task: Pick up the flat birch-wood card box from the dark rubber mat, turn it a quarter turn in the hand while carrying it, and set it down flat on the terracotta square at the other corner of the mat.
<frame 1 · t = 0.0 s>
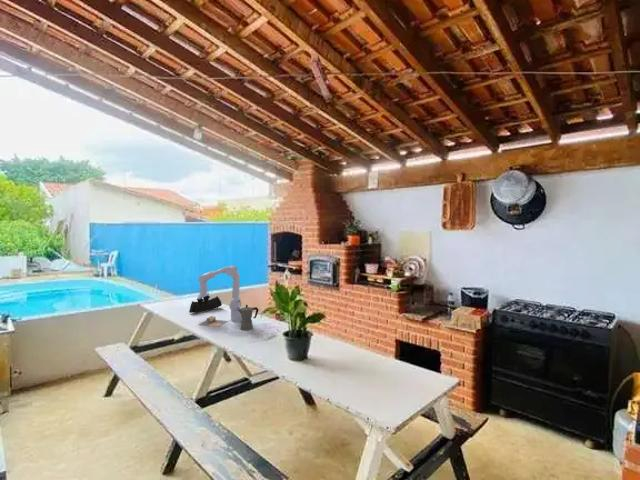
hand: (203, 305, 296), 10 cm above the table, tool pointing down, fingers open, 7 cm apart
card box: (211, 321, 287), resting on mat
coffeepot: (248, 328, 271), on the table
black tray: (206, 311, 320), on the table
mat: (213, 323, 282), on the table
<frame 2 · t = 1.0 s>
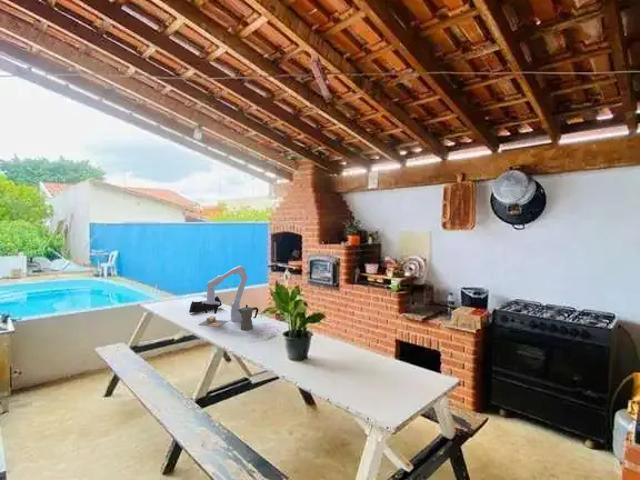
hand: (210, 313, 286), 7 cm above the table, tool pointing down, fingers open, 7 cm apart
nothing on the table moved.
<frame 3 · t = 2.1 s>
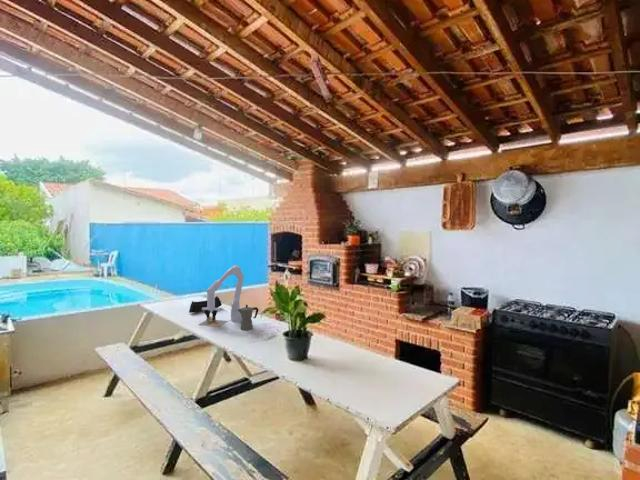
hand: (211, 319, 286), 2 cm above the table, tool pointing down, fingers closed on card box, 4 cm apart
card box: (211, 321, 287), resting on mat, touching gripper
everything else where it was.
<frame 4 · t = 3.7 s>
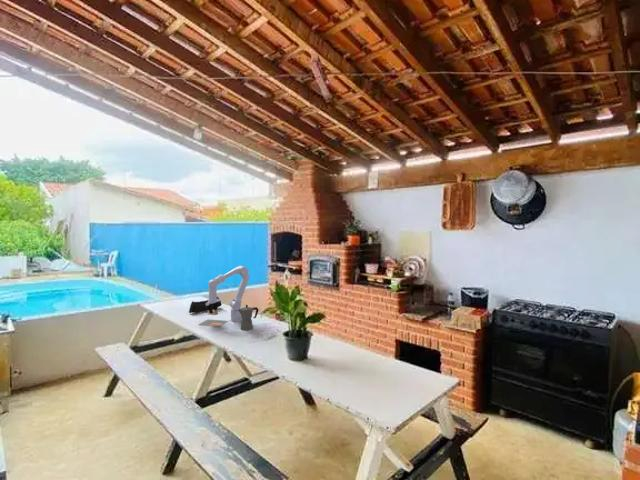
hand: (212, 312, 282), 8 cm above the table, tool pointing down, fingers closed on card box, 4 cm apart
card box: (212, 314, 282), point 7 cm above the table, touching gripper
everything else where it was.
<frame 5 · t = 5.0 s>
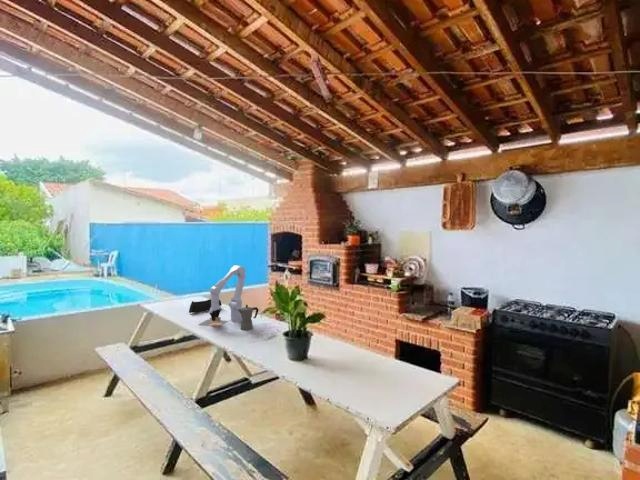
hand: (215, 319, 277), 4 cm above the table, tool pointing down, fingers closed on card box, 4 cm apart
card box: (215, 321, 278), point 3 cm above the table, touching gripper
everything else where it was.
when the fingers open (3 cm above the table, at t = 5.6 s): card box drops 1 cm, resting on mat.
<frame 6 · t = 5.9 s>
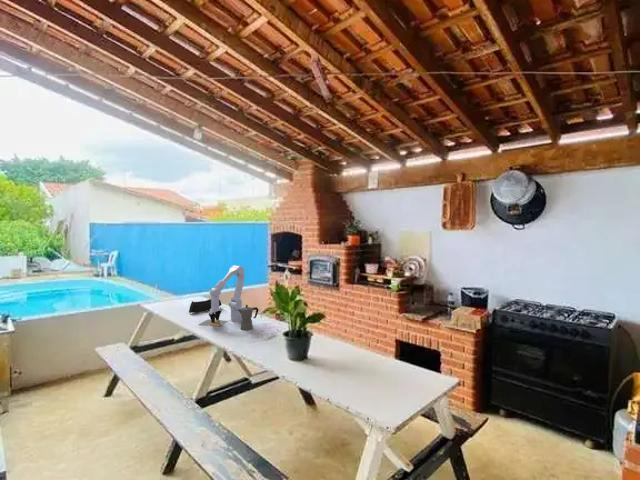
hand: (215, 321, 278), 3 cm above the table, tool pointing down, fingers open, 6 cm apart
card box: (215, 324, 278), resting on mat
everything else where it was.
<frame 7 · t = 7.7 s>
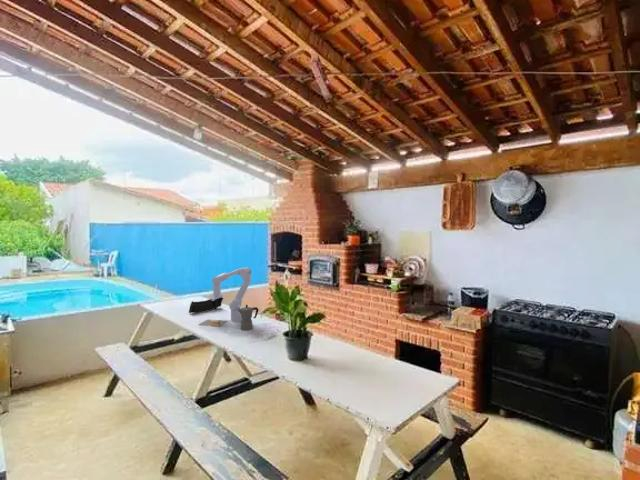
hand: (217, 307, 294), 9 cm above the table, tool pointing down, fingers open, 7 cm apart
nothing on the table moved.
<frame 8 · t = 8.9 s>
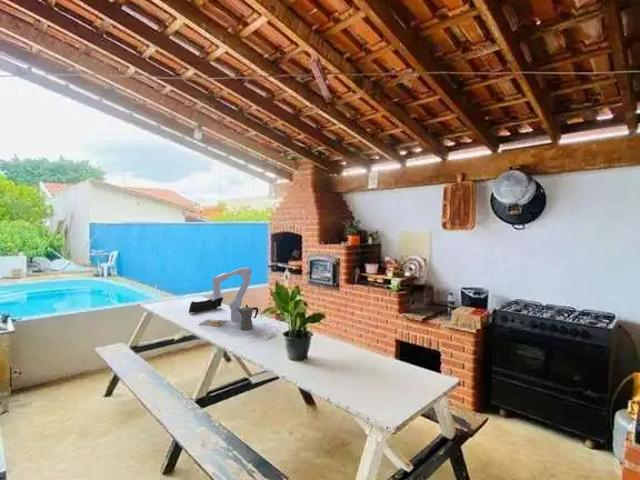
hand: (217, 307, 294), 9 cm above the table, tool pointing down, fingers open, 7 cm apart
nothing on the table moved.
at the end: card box 0.0 cm from the target spot on the mat, point 0.4 cm above the mat's base; card box tilted 0°; the gripper is holding nothing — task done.
